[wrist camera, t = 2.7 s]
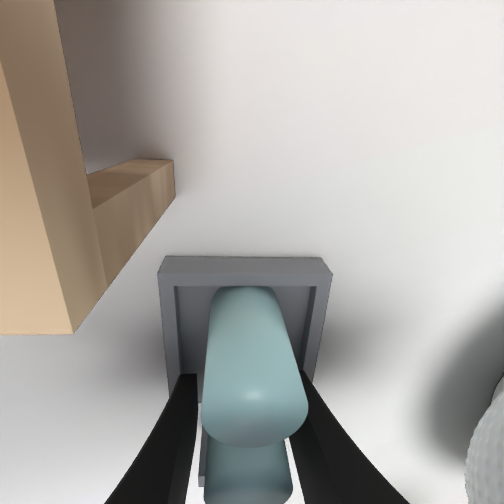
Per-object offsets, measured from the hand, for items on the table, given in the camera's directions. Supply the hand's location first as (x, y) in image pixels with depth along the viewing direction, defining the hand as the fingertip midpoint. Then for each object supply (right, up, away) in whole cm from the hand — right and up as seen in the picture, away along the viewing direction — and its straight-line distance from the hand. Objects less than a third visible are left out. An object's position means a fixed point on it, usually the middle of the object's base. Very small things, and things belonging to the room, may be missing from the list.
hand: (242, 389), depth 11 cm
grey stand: (0, +1, +1) cm, 2 cm away
